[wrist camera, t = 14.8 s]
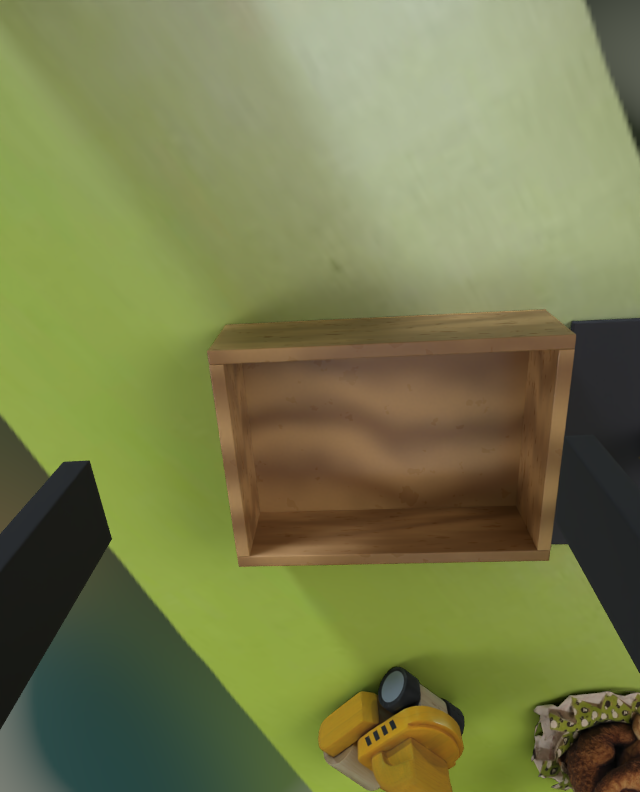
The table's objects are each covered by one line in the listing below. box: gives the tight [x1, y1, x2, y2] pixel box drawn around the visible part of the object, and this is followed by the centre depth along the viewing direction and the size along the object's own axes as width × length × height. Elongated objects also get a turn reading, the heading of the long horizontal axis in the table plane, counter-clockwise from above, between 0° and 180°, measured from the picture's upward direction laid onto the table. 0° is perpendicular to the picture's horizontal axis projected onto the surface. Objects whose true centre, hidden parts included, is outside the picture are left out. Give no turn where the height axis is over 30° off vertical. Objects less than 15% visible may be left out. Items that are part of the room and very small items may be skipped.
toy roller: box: [318, 667, 464, 792], centre depth 54 cm, size 9×14×10 cm, turn 137°
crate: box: [207, 309, 576, 567], centre depth 43 cm, size 18×24×6 cm
